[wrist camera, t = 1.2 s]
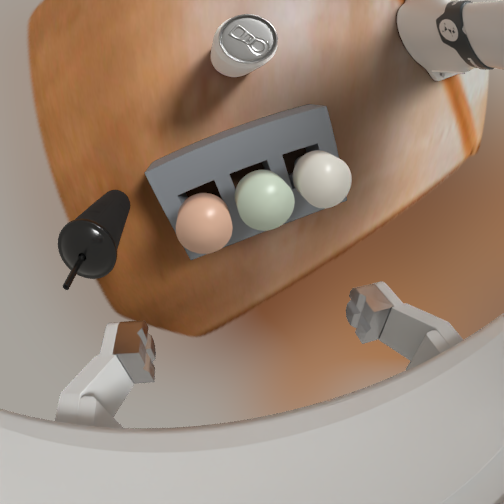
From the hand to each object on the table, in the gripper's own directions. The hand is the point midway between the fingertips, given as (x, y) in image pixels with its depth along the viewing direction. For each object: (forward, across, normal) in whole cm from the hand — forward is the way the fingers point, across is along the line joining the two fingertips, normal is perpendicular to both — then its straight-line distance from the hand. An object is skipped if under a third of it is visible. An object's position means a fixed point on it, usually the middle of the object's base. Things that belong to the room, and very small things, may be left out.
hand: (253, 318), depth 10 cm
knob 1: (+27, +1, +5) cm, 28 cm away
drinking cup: (+32, +15, +5) cm, 36 cm away
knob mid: (+27, -5, +3) cm, 28 cm away
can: (+31, -4, -15) cm, 35 cm away
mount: (+31, -6, +3) cm, 32 cm away
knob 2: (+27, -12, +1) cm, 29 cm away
